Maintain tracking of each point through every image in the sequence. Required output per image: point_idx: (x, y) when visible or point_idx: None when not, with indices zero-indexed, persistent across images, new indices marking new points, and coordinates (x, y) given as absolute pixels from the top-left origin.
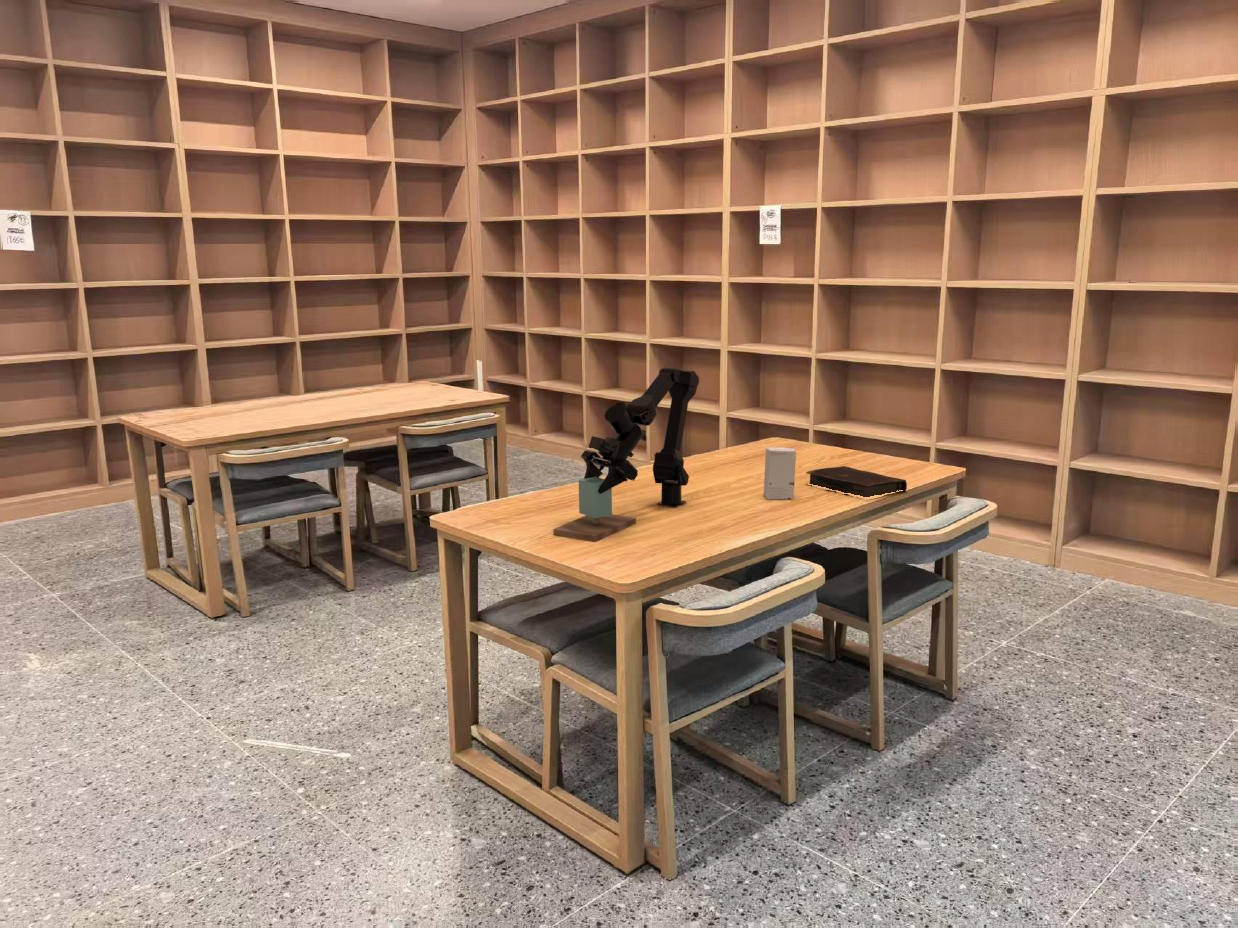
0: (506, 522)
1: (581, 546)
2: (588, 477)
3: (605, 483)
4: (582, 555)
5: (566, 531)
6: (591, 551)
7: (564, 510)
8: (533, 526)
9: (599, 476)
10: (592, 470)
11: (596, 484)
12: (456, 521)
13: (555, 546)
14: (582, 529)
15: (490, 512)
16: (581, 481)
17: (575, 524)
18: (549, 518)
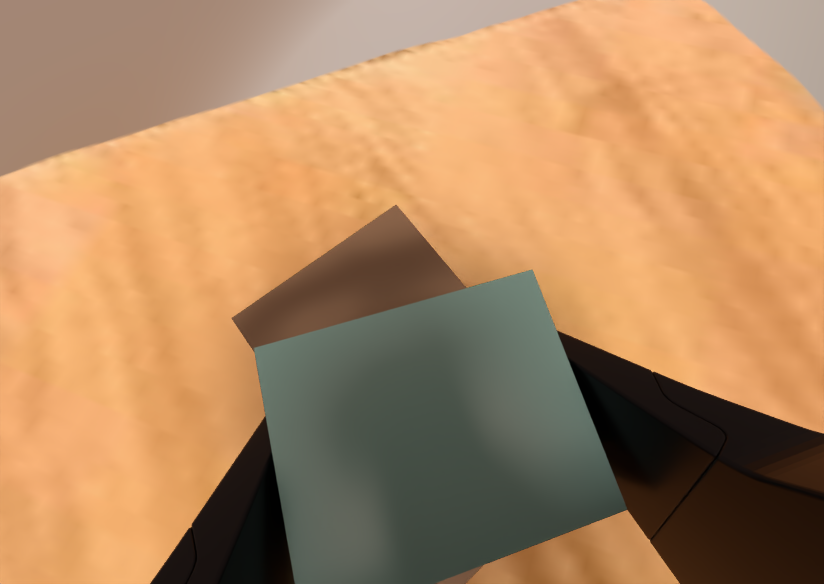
0: (592, 126)
1: (219, 257)
2: (595, 399)
3: (215, 497)
4: (121, 228)
5: (349, 238)
6: (145, 269)
7: (714, 349)
8: (520, 185)
9: (672, 572)
10: (715, 502)
11: (260, 381)
12: (638, 15)
13: (263, 182)
14: (345, 300)
15: (725, 113)
16: (479, 284)
17: (426, 297)
18: (608, 262)
